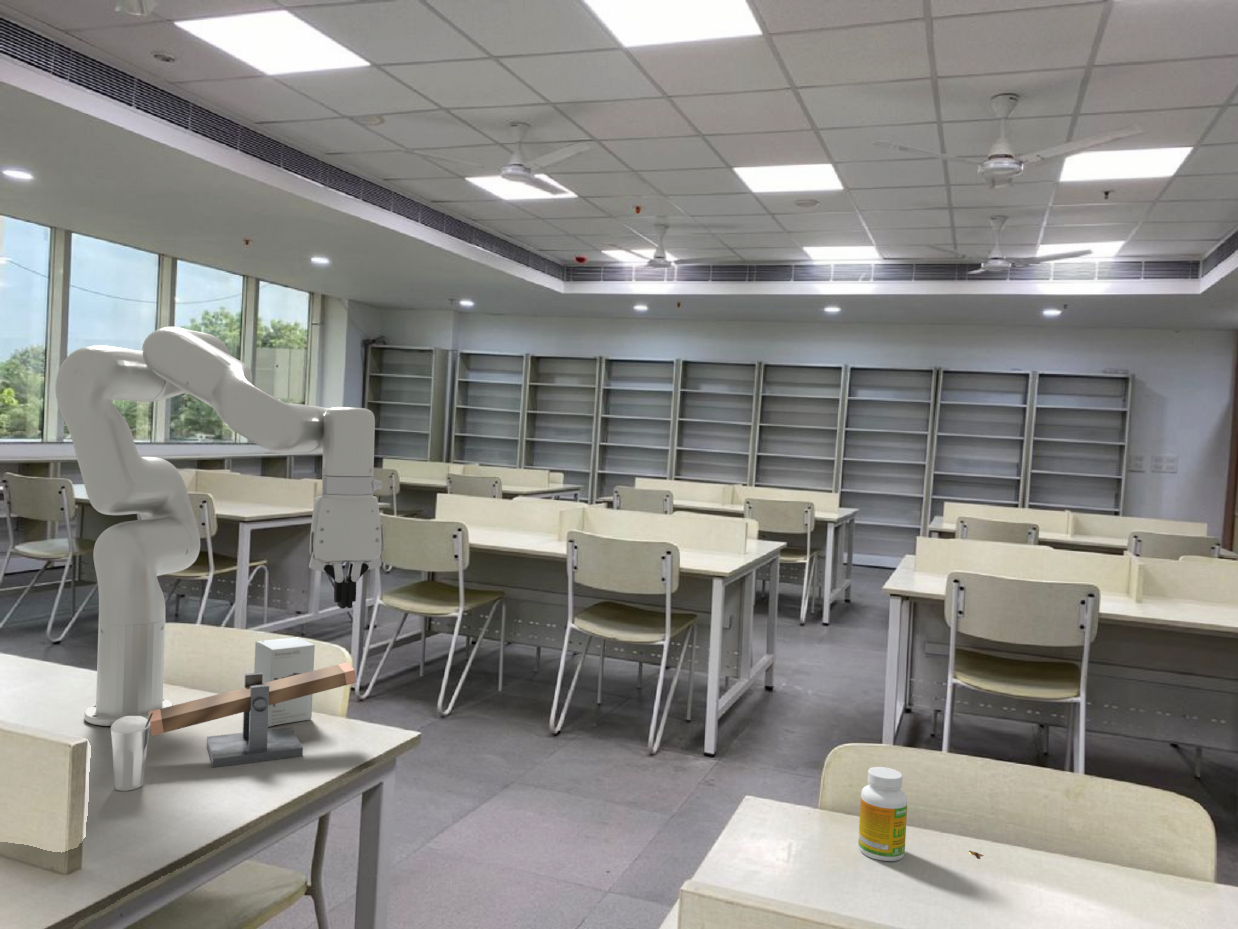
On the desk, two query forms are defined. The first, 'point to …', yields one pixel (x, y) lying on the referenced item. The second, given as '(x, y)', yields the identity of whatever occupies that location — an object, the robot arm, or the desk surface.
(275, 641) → the supplement box
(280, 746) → the beam stand
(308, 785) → the desk surface
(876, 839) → the supplement bottle
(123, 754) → the milkshake
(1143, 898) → the desk surface
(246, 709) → the beam
